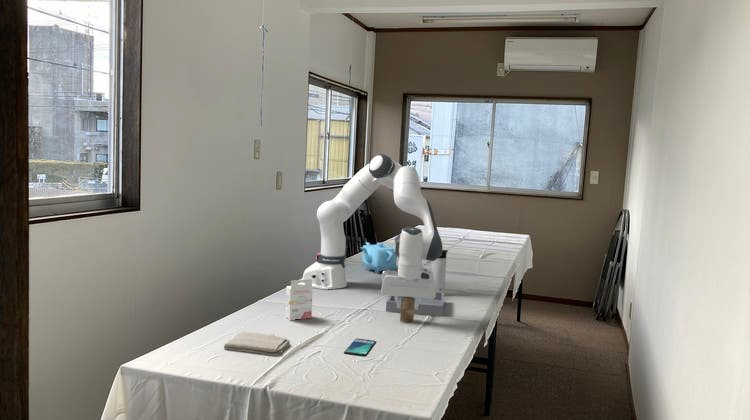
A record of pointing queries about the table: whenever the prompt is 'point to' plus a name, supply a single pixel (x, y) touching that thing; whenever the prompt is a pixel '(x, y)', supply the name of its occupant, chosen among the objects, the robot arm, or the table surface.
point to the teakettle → (378, 257)
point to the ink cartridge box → (299, 300)
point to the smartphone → (360, 347)
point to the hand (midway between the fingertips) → (407, 308)
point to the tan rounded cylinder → (407, 309)
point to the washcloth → (257, 343)
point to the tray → (420, 305)
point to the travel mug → (439, 271)
